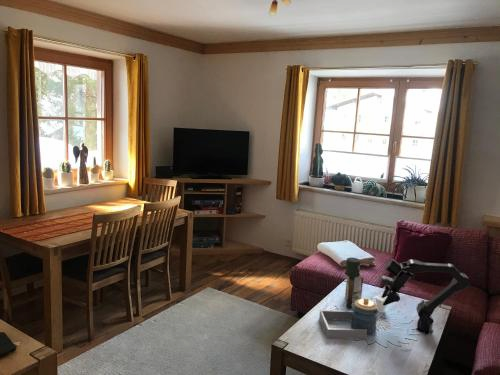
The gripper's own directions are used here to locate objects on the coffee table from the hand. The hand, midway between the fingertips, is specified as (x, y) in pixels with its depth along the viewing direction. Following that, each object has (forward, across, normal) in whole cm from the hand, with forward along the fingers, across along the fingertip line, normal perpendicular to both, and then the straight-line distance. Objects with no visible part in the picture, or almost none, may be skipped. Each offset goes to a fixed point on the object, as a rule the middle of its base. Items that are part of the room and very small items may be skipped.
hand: (382, 301), depth 217 cm
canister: (+16, +9, -1) cm, 19 cm away
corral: (+22, +12, -11) cm, 27 cm away
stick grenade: (+20, -13, -8) cm, 25 cm away
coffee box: (+19, -25, -6) cm, 32 cm away
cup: (+12, -16, +7) cm, 21 cm away
